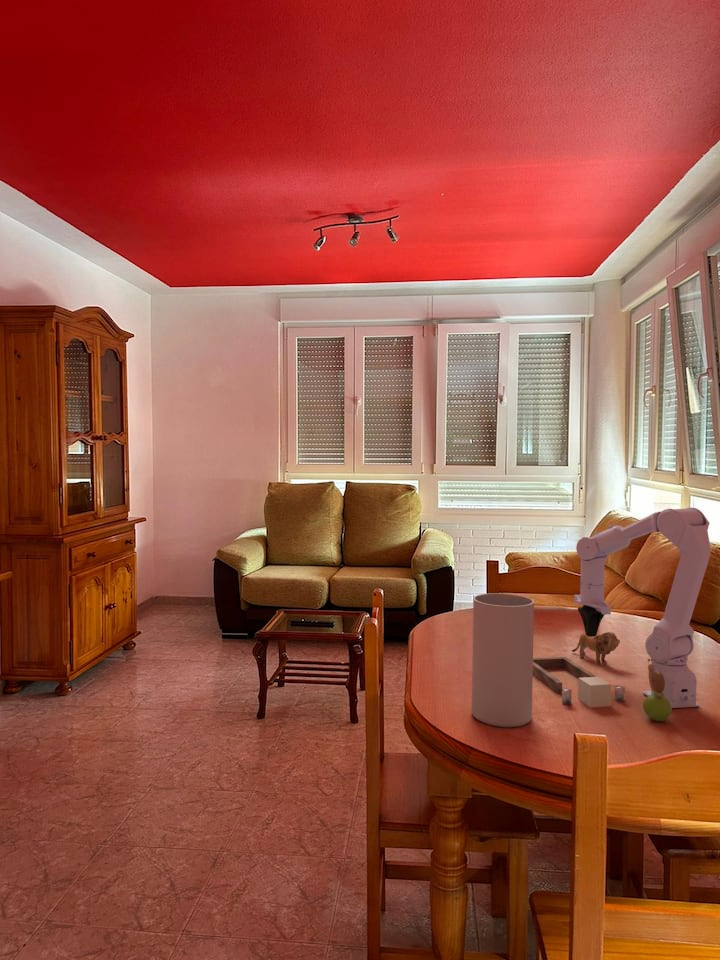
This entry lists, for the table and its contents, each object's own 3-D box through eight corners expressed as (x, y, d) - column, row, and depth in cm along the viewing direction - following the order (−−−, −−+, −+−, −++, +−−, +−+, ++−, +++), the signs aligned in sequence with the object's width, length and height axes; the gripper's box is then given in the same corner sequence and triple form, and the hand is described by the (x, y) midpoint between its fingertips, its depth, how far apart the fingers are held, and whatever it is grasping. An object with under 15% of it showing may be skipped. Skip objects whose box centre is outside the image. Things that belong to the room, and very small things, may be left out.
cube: (610, 706, 142) (611, 684, 142) (590, 707, 141) (590, 685, 141) (597, 698, 147) (598, 676, 147) (578, 699, 146) (578, 677, 146)
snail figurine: (660, 713, 138) (662, 658, 138) (676, 725, 132) (677, 667, 131) (636, 713, 138) (637, 658, 138) (650, 725, 131) (651, 667, 131)
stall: (602, 690, 151) (602, 680, 151) (557, 693, 149) (557, 682, 149) (564, 666, 169) (565, 656, 169) (524, 668, 167) (524, 658, 167)
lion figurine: (622, 666, 170) (623, 632, 170) (609, 669, 167) (610, 635, 167) (577, 651, 182) (578, 620, 182) (564, 654, 179) (565, 622, 179)
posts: (626, 701, 144) (626, 688, 144) (564, 705, 142) (564, 691, 142) (621, 698, 146) (621, 685, 146) (560, 701, 144) (560, 688, 144)
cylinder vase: (459, 715, 135) (461, 599, 135) (492, 700, 144) (494, 591, 143) (510, 734, 126) (513, 609, 126) (542, 717, 135) (545, 600, 134)
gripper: (564, 578, 170) (563, 628, 171) (592, 589, 156) (591, 644, 156) (588, 578, 172) (587, 628, 172) (619, 588, 157) (617, 643, 158)
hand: (591, 635), depth 164 cm, fingers closed
